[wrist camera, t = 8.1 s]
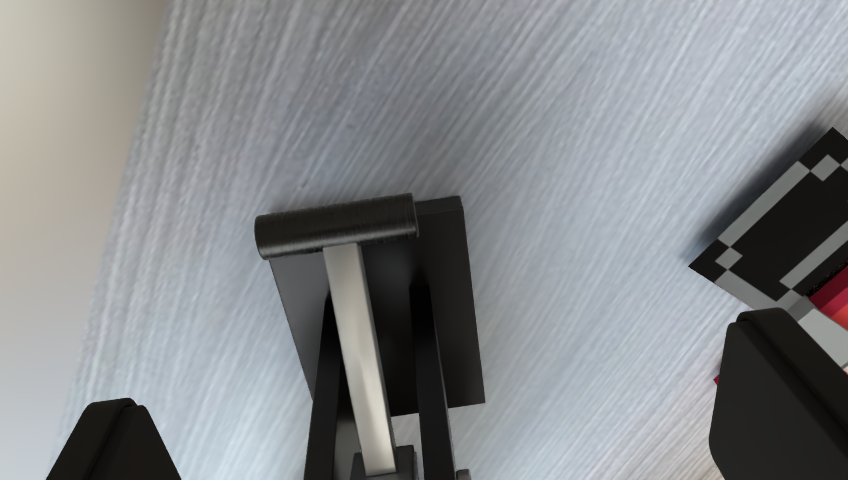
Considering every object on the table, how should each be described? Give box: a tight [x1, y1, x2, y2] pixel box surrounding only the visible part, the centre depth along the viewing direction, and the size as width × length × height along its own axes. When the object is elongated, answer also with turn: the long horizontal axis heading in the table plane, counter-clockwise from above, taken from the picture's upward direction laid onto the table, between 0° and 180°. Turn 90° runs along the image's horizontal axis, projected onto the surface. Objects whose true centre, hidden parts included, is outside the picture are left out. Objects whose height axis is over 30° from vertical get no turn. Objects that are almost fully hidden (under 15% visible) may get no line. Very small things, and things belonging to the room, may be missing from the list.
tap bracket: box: [269, 196, 485, 480], centre depth 26 cm, size 12×9×13 cm
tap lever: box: [254, 193, 419, 480], centre depth 21 cm, size 12×5×2 cm, turn 7°
